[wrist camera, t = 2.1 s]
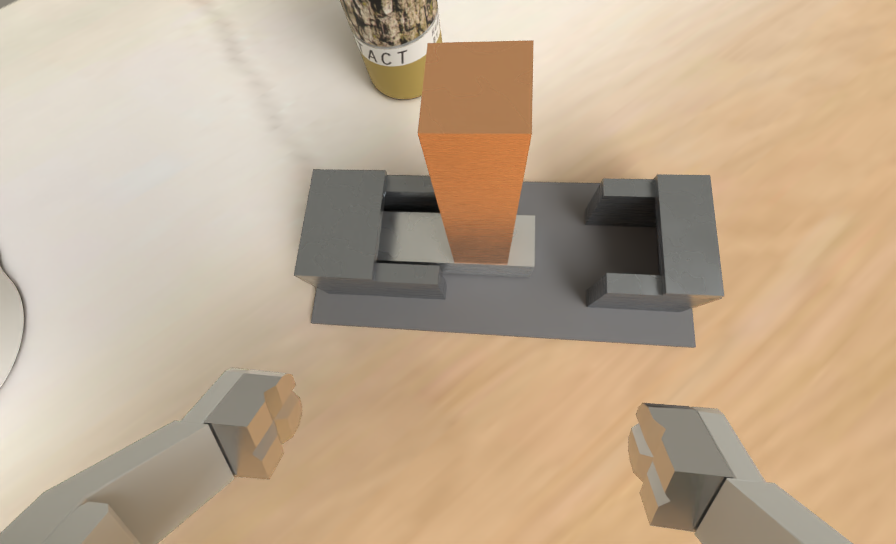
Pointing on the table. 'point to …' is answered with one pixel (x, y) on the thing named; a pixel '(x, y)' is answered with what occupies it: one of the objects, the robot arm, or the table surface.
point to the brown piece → (471, 163)
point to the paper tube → (394, 41)
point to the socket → (661, 242)
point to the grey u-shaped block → (363, 234)
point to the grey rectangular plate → (535, 285)
